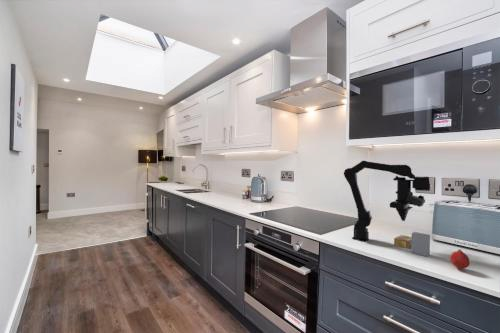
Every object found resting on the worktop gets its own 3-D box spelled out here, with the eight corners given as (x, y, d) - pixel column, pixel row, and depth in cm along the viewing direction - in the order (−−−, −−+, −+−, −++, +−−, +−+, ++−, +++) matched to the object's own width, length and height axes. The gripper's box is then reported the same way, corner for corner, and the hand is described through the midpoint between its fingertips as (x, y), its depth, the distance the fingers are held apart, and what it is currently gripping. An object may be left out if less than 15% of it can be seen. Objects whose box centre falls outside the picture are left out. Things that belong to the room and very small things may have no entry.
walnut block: (394, 238, 120) (401, 234, 126) (394, 246, 120) (401, 242, 126) (407, 241, 116) (414, 237, 121) (407, 249, 116) (414, 245, 121)
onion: (449, 265, 98) (450, 245, 98) (468, 269, 94) (469, 249, 94) (449, 269, 93) (450, 249, 93) (469, 274, 90) (470, 253, 89)
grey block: (411, 252, 111) (411, 233, 111) (414, 250, 113) (414, 231, 113) (426, 256, 106) (427, 236, 106) (429, 254, 109) (430, 234, 109)
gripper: (416, 192, 107) (415, 227, 108) (429, 189, 119) (428, 221, 119) (389, 190, 116) (389, 222, 116) (404, 188, 128) (403, 217, 128)
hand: (403, 220), depth 120 cm, fingers closed
